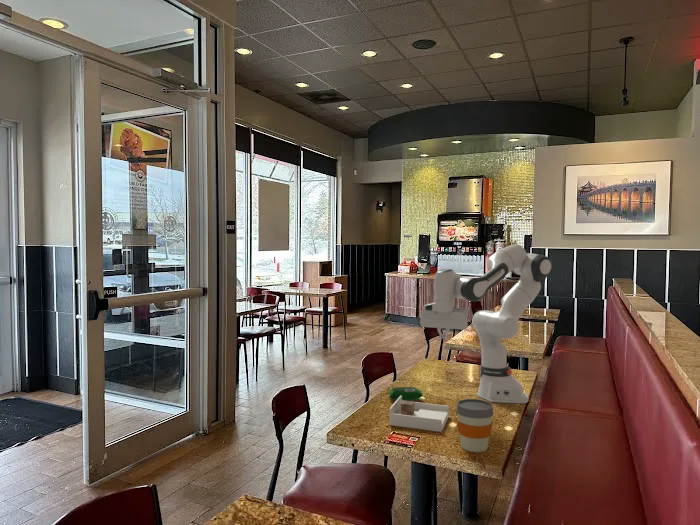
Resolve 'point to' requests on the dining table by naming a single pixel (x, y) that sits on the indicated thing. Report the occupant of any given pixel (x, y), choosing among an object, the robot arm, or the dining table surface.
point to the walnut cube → (407, 408)
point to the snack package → (405, 393)
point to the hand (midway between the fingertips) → (443, 338)
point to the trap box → (420, 416)
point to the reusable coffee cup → (474, 424)
